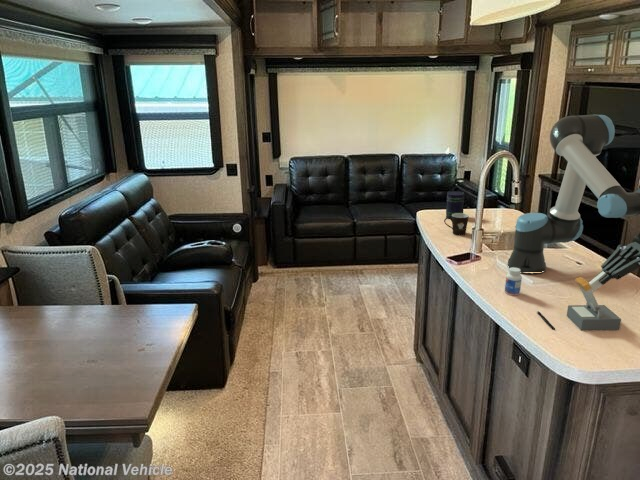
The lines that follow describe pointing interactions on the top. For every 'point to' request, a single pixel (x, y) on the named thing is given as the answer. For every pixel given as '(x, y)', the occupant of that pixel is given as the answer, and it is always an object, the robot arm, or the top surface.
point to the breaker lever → (588, 294)
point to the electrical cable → (545, 320)
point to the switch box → (593, 318)
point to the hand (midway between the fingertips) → (590, 288)
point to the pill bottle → (513, 281)
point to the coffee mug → (459, 223)
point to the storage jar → (454, 203)
